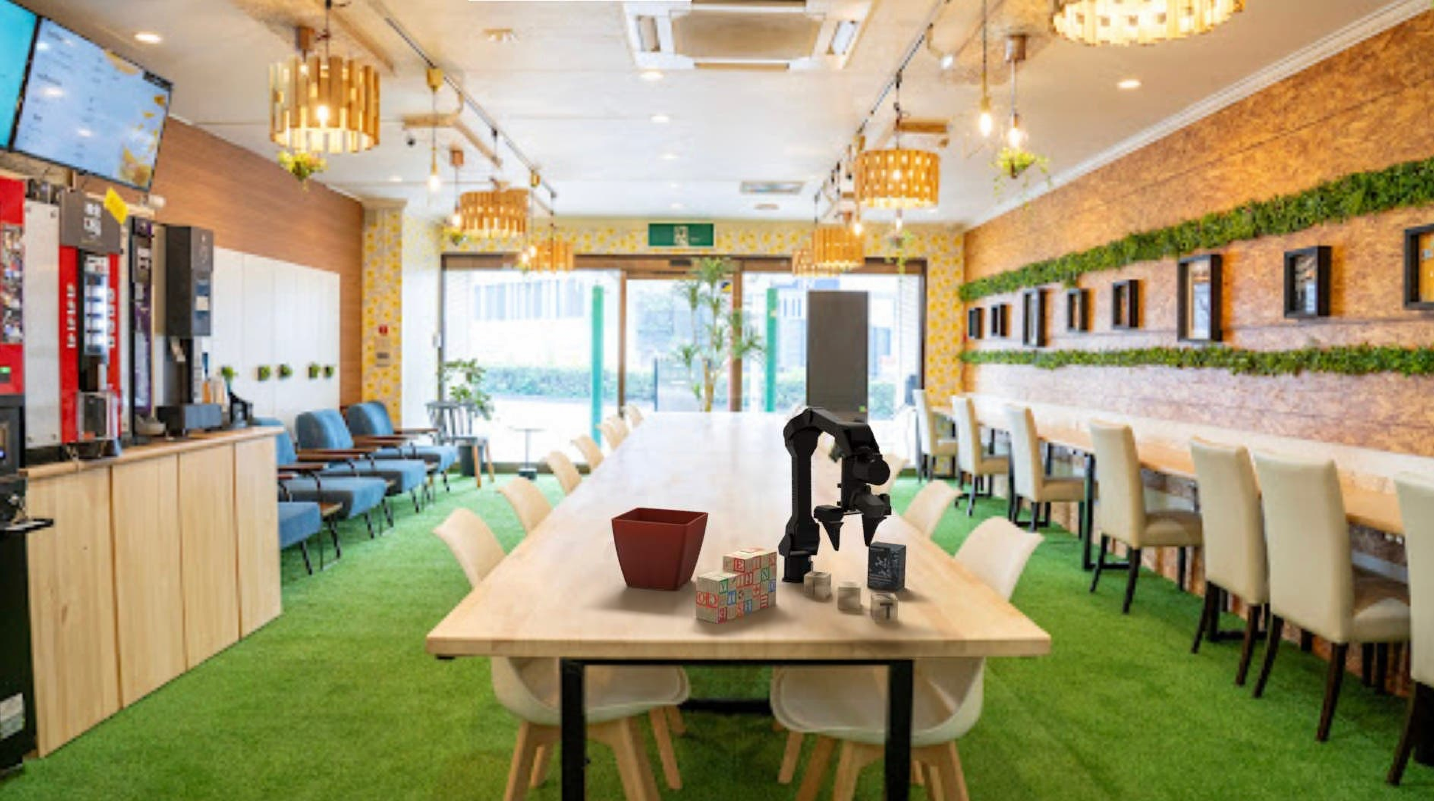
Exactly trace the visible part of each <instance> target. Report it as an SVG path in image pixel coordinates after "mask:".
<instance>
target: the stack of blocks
mask: <svg viewBox="0 0 1434 801" xmlns="http://www.w3.org/2000/svg"><path fill="white" fill-rule="evenodd" d="M777 555H778V551H777V550H772V549H767V548H759V547H751V548H744V549H741V550H739V551H733V552H730V553H728V554H723V555H722V569H718V570H714V571H710V572H707V573H704V574H699V575H696V590H695V618H696V619H698V620H699V619H700V620H704V621H707V622H712V623H716V624H720V623H722V622H725V621H728V620H732V619H735V618H739V617H741V616H743V615H746V614H747V615H748V613H752V612H755V611H757V610H760V609H765V608H767V607H769V606H770V607H771V606H773V605H776V604H777V576H778V573H777V572H778V565H777V561H778V558H777V557H778V556H777Z"/></svg>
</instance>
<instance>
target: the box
mask: <svg viewBox="0 0 1434 801" xmlns="http://www.w3.org/2000/svg"><path fill="white" fill-rule="evenodd" d="M867 551H868V552H867V554H868V555H867V556H868V557H867V583H866V586H867V588H871V589H872V588H873V589H879V590H883V591H884V590H886V591H891V592H896V593H899V592H900V591H901V590H903V589H904V588H906V587H905V586H906V562H907V545H906V544H900V543H889V542H882V541H878V540H877V541H874V542H871V545H870V547H868V550H867Z"/></svg>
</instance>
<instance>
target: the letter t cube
mask: <svg viewBox="0 0 1434 801" xmlns="http://www.w3.org/2000/svg"><path fill="white" fill-rule="evenodd" d="M869 609H870V611H869V615H870V618H871V619H872V620H873V622H874V623H876V622H877V623H898V622H899V619H898V618H899V599H898V597H897V596H896V594H895V593H880V592H879V593H878V592H877V593H876V592H875V593H873V592H872V593H870V608H869Z"/></svg>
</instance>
